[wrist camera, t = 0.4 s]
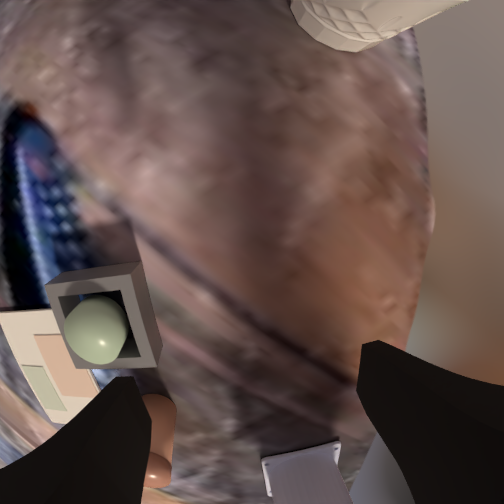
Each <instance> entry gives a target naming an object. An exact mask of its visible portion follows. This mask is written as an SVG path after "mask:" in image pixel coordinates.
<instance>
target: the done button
mask: <svg viewBox="0 0 504 504" xmlns="http://www.w3.org/2000/svg"><path fill="white" fill-rule="evenodd" d="M64 333H65V337H66V340H67V342H68V344H69V345H70V347H71V348H72V350H73V351H74V352H75V353H76V354H77V355H78V356H80V357H81V358H83V359H84V360H86V361H88V362H91V363H94V364H108V363H110V362H112V361H114V360H115V359H116V358H117V356H118V354H119V352H120V350H121V348H122V346H123V344H124V342H125V340H126V338H127V336H128V333H129V322H128V318H127V316H126V314H125V312H124V310H123V309H122V308H121V307H120V306H119V305H118V304H117V303H116V302H115V301H114V300H112V299H110V298H108V297H106V296H103V295H90V296H88V297H86V298H84V299H83V300H82V301H81V302H80V303H79V304H78V305H77V306H76V307H75V308H74V309H73V311H72V312H71V313H70V314H69V315H68V316H67V318H66V320H65V323H64Z"/></svg>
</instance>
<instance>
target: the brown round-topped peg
mask: <svg viewBox="0 0 504 504" xmlns="http://www.w3.org/2000/svg"><path fill="white" fill-rule="evenodd" d="M142 399H143V401H144V404H145V406H146V408H147V410H148V413H149V415H150V417H151V419H152V433H151V447H150V453H149V459H148V464H147V469H146V475H145V480H144V487H150V488H162V487H166V486H168V485H169V484H170V482H171V470H172V466H171V461H172V450H173V440H174V430H175V421H176V412H177V409H176V406H175V404H174V403H173V402H172V401H171V400H170V399H168V398H167V397H165V396H162V395H159V394H146V395H143V396H142Z"/></svg>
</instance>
